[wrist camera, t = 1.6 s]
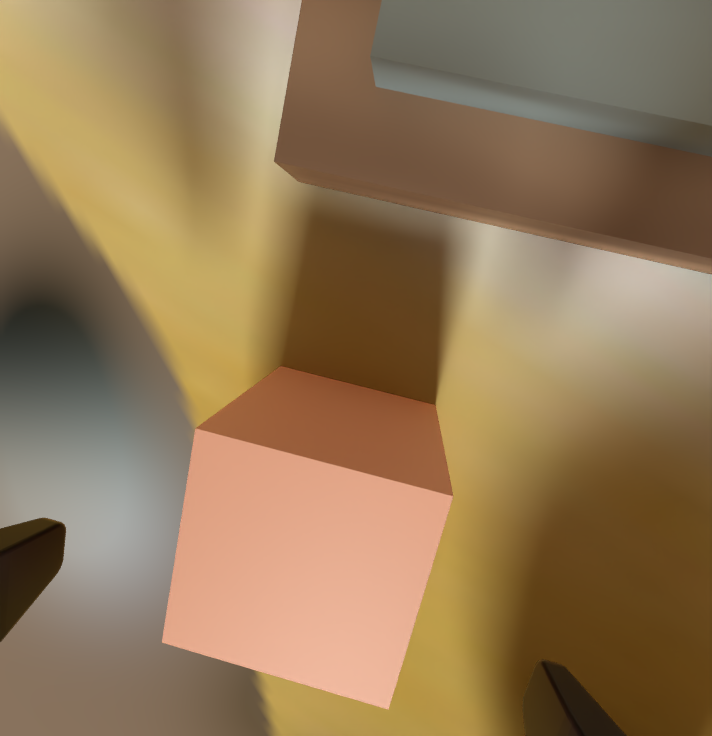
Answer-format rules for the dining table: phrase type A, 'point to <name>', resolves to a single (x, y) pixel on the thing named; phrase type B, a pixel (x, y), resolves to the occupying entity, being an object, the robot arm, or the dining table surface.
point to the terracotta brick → (310, 533)
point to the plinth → (514, 115)
